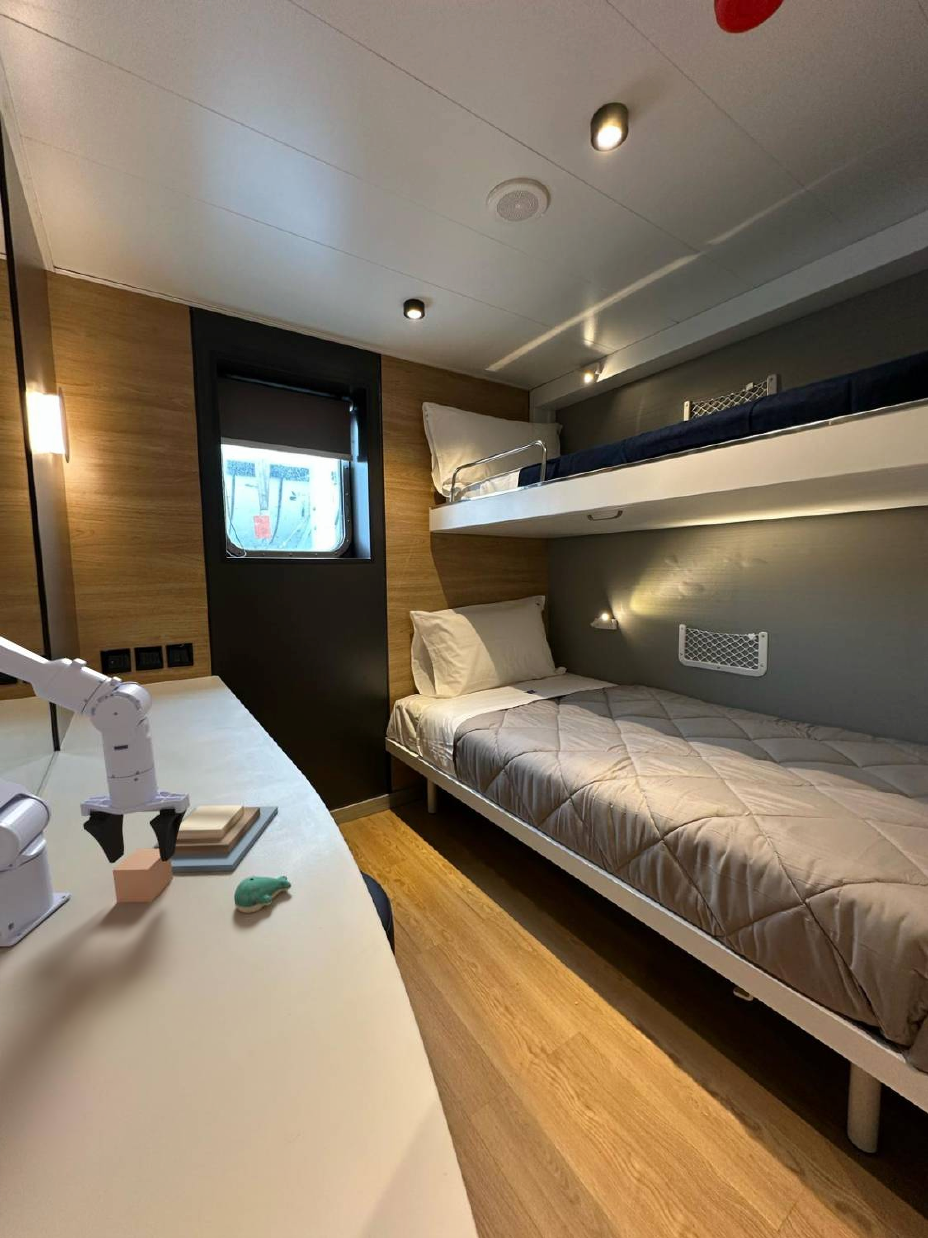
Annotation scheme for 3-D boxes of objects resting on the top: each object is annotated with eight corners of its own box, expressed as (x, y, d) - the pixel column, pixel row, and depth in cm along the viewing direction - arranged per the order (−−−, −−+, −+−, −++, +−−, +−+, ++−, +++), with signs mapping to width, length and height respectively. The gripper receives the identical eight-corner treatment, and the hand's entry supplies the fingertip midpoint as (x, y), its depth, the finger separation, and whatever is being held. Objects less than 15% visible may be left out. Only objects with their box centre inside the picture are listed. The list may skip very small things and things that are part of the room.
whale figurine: (231, 900, 69) (229, 875, 69) (284, 879, 73) (282, 855, 73) (240, 924, 64) (238, 897, 64) (296, 900, 69) (294, 875, 68)
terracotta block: (151, 902, 69) (147, 869, 69) (116, 903, 69) (112, 870, 69) (172, 879, 74) (169, 848, 74) (140, 880, 74) (136, 849, 74)
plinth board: (232, 870, 76) (230, 846, 75) (130, 873, 76) (127, 849, 75) (277, 811, 93) (276, 791, 93) (195, 813, 94) (193, 793, 93)
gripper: (197, 756, 73) (206, 840, 75) (101, 759, 74) (113, 843, 75) (168, 777, 66) (179, 869, 68) (63, 780, 67) (76, 873, 68)
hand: (142, 858), depth 71 cm, fingers open, 7 cm apart
